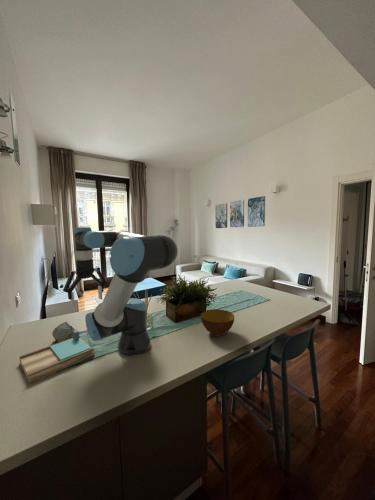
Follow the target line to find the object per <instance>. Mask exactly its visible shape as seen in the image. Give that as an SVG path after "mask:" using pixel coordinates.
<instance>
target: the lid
mask: <svg viewBox="0 0 375 500" xmlns="http://www.w3.org/2000/svg"><path fill="white" fill-rule="evenodd" d="M79 336H80V332H79V331H78V330H77V329H75V330H74V331H73V337H72V338H73V339H71V338H69V339H70V340H67V341H64V342H61V343H59V344H56V343H55V344H56V345H53V344H52V345H53V346H51V345H49V346H50V348H51V350H52V351H53V352H54V354H55V355H56V356H57V358H58V359H59V360H60V361H61V360H64V359H66V358H69V357H71V356H74V355H76V354H79V353H81V352H84V351H86V350H89V349H91V348H92V347H91V346H90V345H89V344H88V343H87V342H85V341H84V340H83V339H82V338H81V337H80V338H81V339H82V340H83V341H84V342H85V343H84V342H83V341H82V340H81V339H80V338H79ZM86 343H87V344H88V345H89V346H90V347H91V348H90V347H89V346H88V345H87V344H86Z"/></svg>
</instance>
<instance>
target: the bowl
mask: <svg viewBox="0 0 375 500" xmlns="http://www.w3.org/2000/svg"><path fill="white" fill-rule="evenodd" d="M200 320H201V323H202V325H203V327H204V328H205V330H206V331H208V332H209V333H210V334H211V335H212V336H214V337H221V336H224V334H226V333H228V332H229V331H230V330H231V329H232V327H233V325H234V322H235V315H234V313H232V312H230V311H228V310H225V309H218V308H217V309H216V308H215V309H214V308H213V309H212V308H211V309H207V310H204V311H202V312H201V314H200Z"/></svg>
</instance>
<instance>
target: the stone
mask: <svg viewBox="0 0 375 500" xmlns="http://www.w3.org/2000/svg"><path fill="white" fill-rule="evenodd" d="M74 330H76V328H74V327H73V326H72V325H70V324H69V323H68V321H64V322H63V323H60V324H58V325H57V326H56V327H54V329H53V331H52V333H51V335H52V336H53V339H54V340H56V343H59V342H62V341H65V340H68V339H71V338H73V331H74Z"/></svg>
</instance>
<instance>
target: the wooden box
mask: <svg viewBox="0 0 375 500" xmlns="http://www.w3.org/2000/svg"><path fill="white" fill-rule="evenodd" d="M79 338H80V339H81V340H82V341H83V342H84V343H86V344H87V345H88V346H89V347H90V348H91V349H89V350H86V351H84V352H81V353H79V354H76V355H74V356H71V357H69V358H66V359H64V360H61V361H60V360H59V359H58V357H57V356H56V355H55V353H54V352H53V351H52V350H51V348H50V346H53V345H56V344H59V343H61V342H59V343H58V342H56V343H53V344H52V345H51V344H50V345H48V346H45V347H43V348H39V349H36V350H34V351H30V352H27V353H26V354H22V355H20V356H19V364H20V366H21V369H22V371H23V373H24V375H25V377H26V379H27V381H28V384H31V383H34V382H36V381H38V380H40V379H42V378H45V377H47V376H49V375H52V374H54V373H56V372H59V371H60V370H63V369H66V368H68V367H71V366H73V365H75V364H78V363H80V362H81V361H85V360H87V359H89V358H91V357H94V356H95V348H94V347H91V346H90V345H89V344H88V343H87V342H85V341H84V340H83V339H82V338H81V337H80V335H79ZM70 339H73V337H72V338H69V339H68V340H70ZM65 341H67V340H65ZM62 342H64V341H62Z"/></svg>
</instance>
